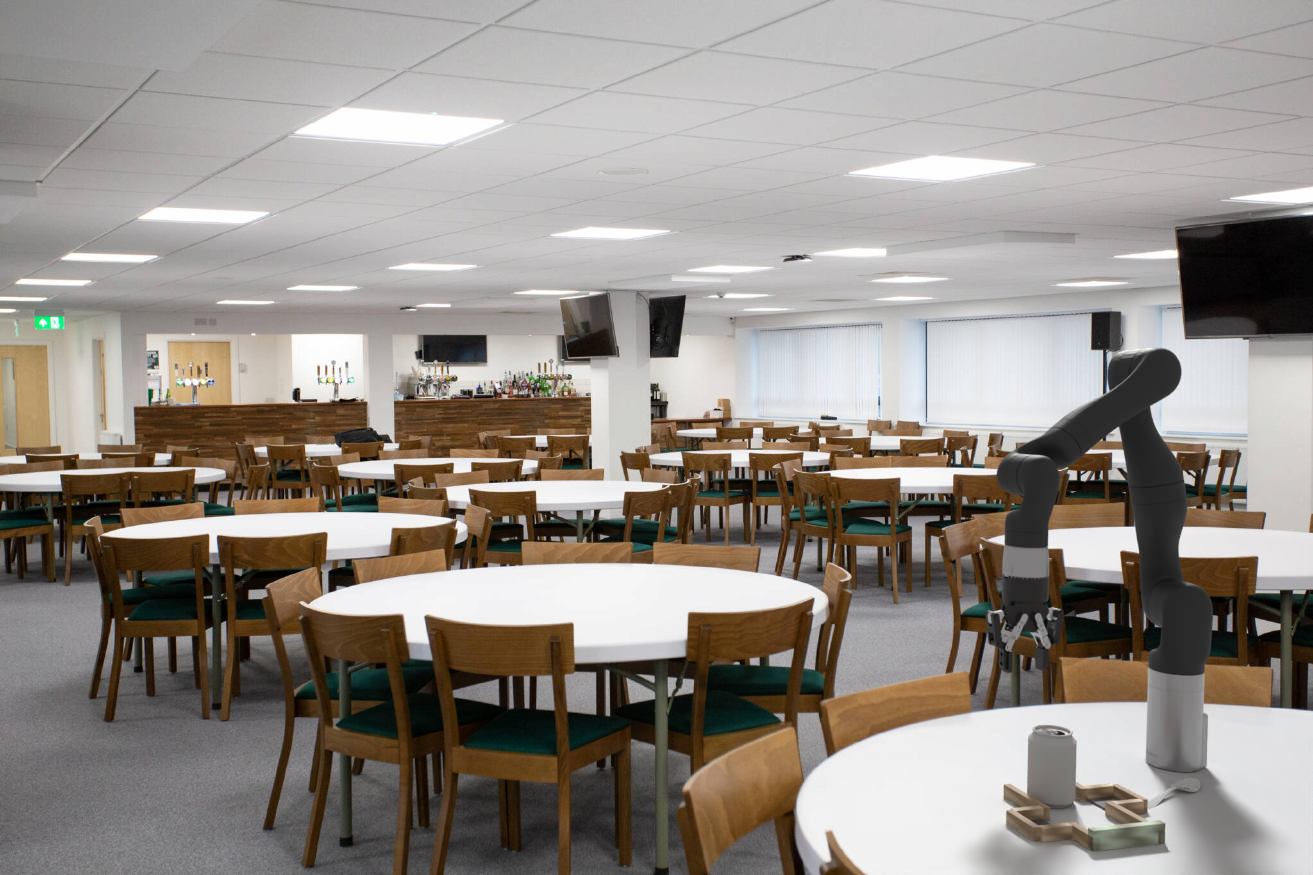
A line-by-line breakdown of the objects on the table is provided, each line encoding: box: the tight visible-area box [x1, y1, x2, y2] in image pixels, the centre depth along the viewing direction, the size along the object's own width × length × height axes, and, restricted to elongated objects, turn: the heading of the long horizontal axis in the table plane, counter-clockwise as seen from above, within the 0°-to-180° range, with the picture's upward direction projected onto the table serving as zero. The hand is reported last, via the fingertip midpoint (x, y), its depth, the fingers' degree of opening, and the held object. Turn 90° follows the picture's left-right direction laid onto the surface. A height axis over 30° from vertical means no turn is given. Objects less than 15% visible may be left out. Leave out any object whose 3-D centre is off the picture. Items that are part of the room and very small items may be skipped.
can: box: [1026, 724, 1077, 809], centre depth 182 cm, size 8×8×12 cm
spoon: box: [1148, 777, 1201, 809], centre depth 184 cm, size 4×21×2 cm, turn 129°
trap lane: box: [1003, 781, 1166, 852], centre depth 175 cm, size 25×23×3 cm
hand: (1023, 670), depth 190 cm, fingers open, 6 cm apart
